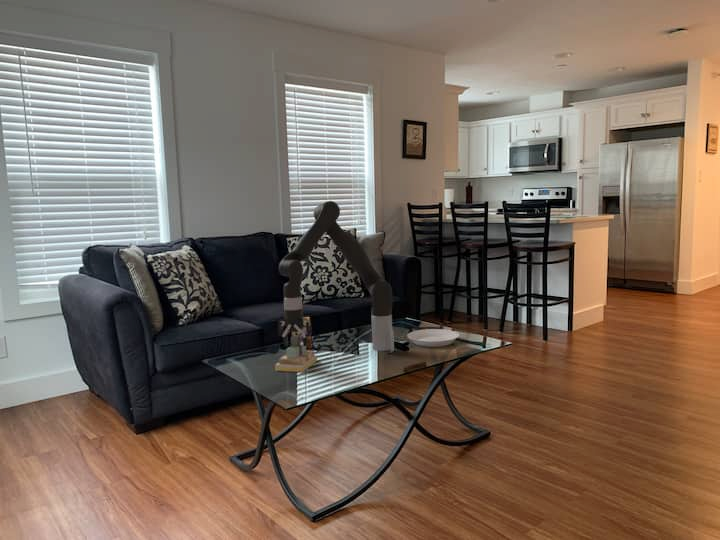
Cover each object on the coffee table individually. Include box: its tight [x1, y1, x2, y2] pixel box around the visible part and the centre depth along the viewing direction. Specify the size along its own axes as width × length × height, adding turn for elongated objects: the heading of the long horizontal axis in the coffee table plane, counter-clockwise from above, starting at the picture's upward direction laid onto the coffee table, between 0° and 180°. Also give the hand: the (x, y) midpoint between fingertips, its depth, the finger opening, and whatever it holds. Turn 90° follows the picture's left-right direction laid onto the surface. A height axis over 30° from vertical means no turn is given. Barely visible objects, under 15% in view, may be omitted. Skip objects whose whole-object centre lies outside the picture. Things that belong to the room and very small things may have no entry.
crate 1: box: [285, 346, 299, 359], centre depth 230 cm, size 4×4×4 cm
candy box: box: [291, 316, 312, 349], centre depth 266 cm, size 9×4×15 cm, turn 98°
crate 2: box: [301, 342, 307, 354], centre depth 237 cm, size 4×4×4 cm
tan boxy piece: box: [278, 335, 315, 365], centre depth 233 cm, size 14×10×10 cm
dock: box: [274, 354, 318, 373], centre depth 234 cm, size 12×16×4 cm
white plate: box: [406, 328, 460, 348], centre depth 268 cm, size 25×25×4 cm
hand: (295, 345), depth 233 cm, fingers open, 8 cm apart
